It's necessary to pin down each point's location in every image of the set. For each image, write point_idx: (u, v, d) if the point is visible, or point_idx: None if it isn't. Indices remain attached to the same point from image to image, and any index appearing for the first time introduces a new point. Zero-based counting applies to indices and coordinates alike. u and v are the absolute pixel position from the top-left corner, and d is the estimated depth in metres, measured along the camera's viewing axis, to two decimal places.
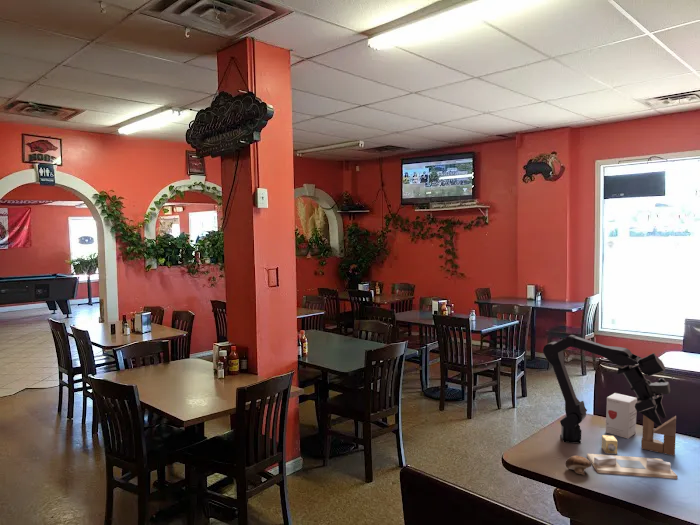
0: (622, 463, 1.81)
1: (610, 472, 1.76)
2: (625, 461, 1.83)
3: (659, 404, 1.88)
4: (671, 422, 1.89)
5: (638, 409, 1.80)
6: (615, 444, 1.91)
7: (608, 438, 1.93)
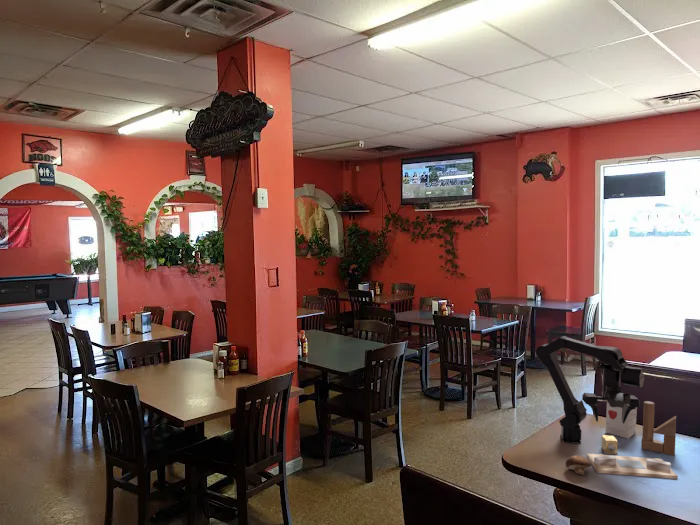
0: (622, 463, 1.81)
1: (610, 472, 1.76)
2: (625, 461, 1.83)
3: (625, 411, 1.91)
4: (671, 422, 1.89)
5: (582, 397, 1.96)
6: (615, 444, 1.91)
7: (608, 438, 1.93)
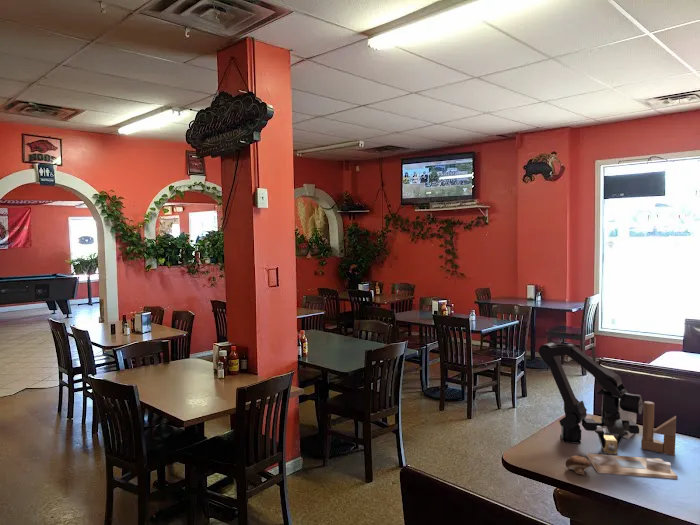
0: (622, 463, 1.81)
1: (610, 472, 1.76)
2: (625, 461, 1.83)
3: (617, 436, 1.92)
4: (671, 422, 1.89)
5: (582, 423, 1.97)
6: (615, 444, 1.91)
7: (608, 438, 1.93)
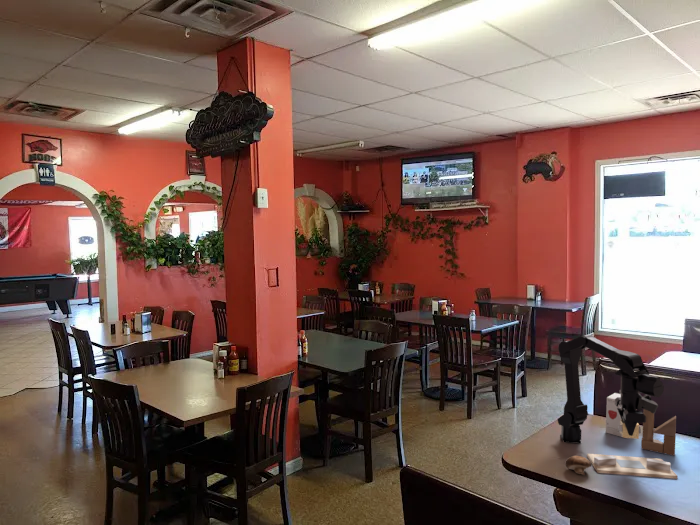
0: (622, 463, 1.81)
1: (610, 472, 1.76)
2: (625, 461, 1.83)
3: None
4: (671, 422, 1.89)
5: (628, 419, 1.73)
6: None
7: None
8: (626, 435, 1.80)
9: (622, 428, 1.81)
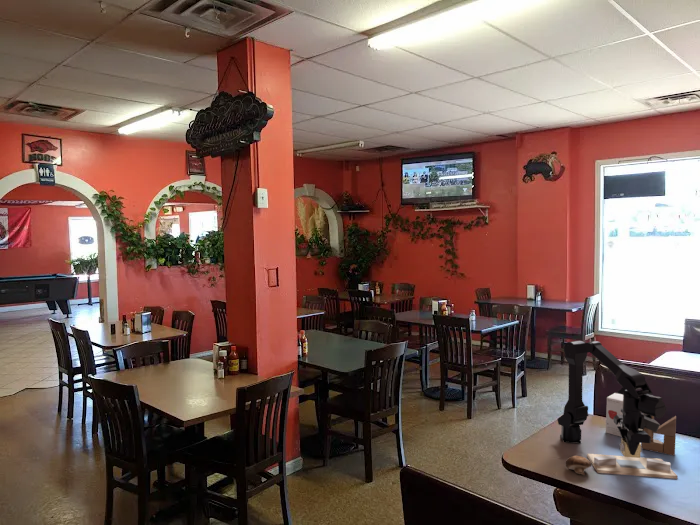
0: (622, 463, 1.81)
1: (610, 472, 1.76)
2: (625, 461, 1.83)
3: None
4: (671, 422, 1.89)
5: (634, 440, 1.71)
6: None
7: None
8: (628, 454, 1.79)
9: (624, 447, 1.79)
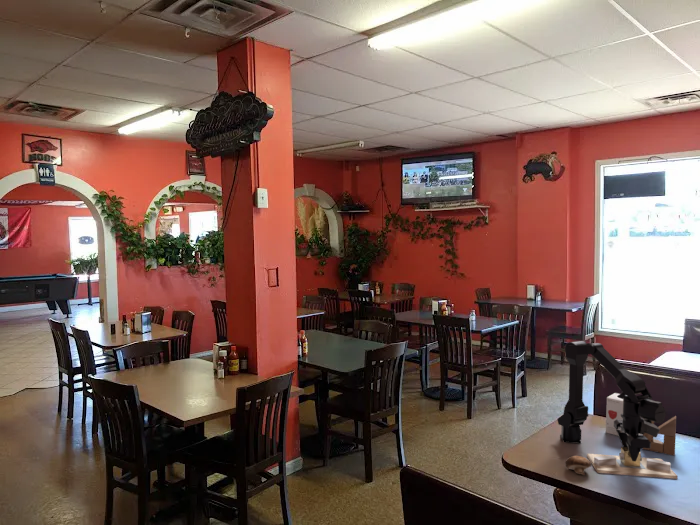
0: (622, 463, 1.81)
1: (610, 472, 1.76)
2: None
3: None
4: (671, 422, 1.89)
5: (634, 445, 1.71)
6: None
7: None
8: (628, 463, 1.79)
9: (624, 456, 1.79)
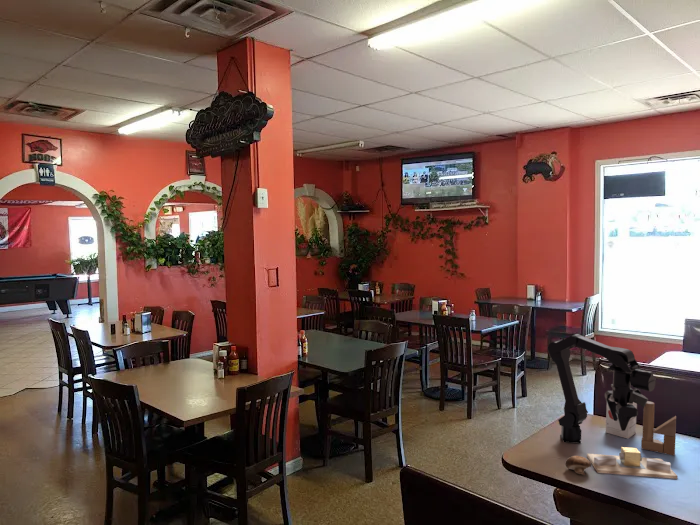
0: (622, 463, 1.81)
1: (610, 472, 1.76)
2: None
3: None
4: (671, 422, 1.89)
5: (622, 412, 1.79)
6: None
7: (632, 450, 1.80)
8: (628, 463, 1.79)
9: (624, 456, 1.79)
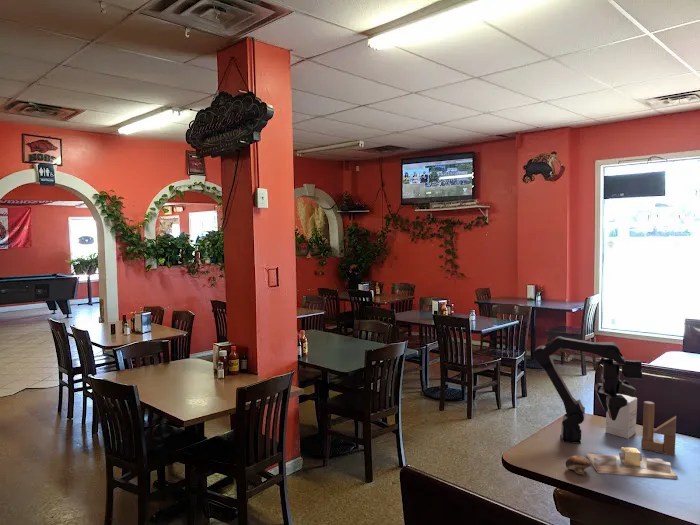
0: (622, 463, 1.81)
1: (610, 472, 1.76)
2: None
3: None
4: (671, 422, 1.89)
5: (612, 403, 1.88)
6: None
7: (632, 450, 1.80)
8: (628, 463, 1.79)
9: (624, 456, 1.79)
